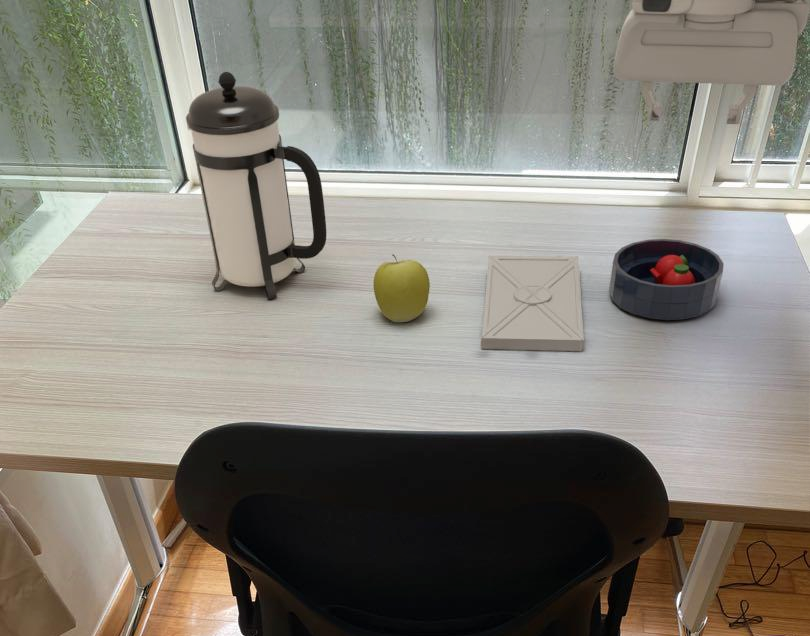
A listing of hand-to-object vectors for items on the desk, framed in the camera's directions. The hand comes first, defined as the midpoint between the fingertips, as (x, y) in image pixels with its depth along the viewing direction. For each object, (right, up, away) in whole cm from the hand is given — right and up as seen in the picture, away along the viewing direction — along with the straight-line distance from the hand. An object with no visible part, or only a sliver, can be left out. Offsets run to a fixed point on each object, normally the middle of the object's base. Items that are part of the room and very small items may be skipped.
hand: (692, 121), depth 107 cm
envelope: (-17, -17, +21) cm, 32 cm away
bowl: (+3, -15, +22) cm, 27 cm away
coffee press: (-57, -10, +31) cm, 66 cm away
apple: (-35, -18, +21) cm, 45 cm away
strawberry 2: (+2, -13, +23) cm, 26 cm away
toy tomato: (+4, -16, +20) cm, 26 cm away
